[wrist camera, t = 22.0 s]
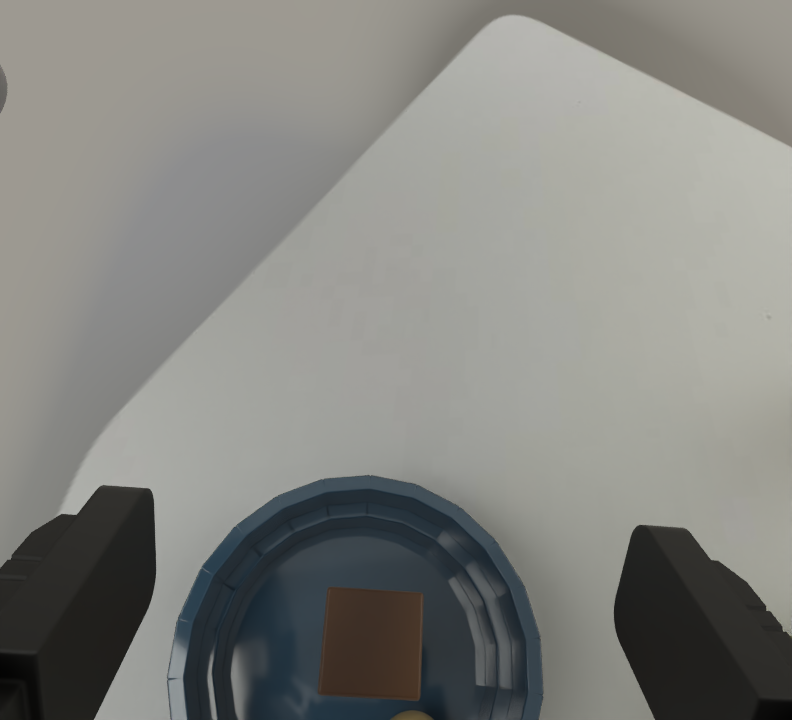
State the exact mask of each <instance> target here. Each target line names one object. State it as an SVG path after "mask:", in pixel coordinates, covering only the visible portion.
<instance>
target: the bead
mask: <svg viewBox="0 0 792 720" xmlns="http://www.w3.org/2000/svg"><path fill="white" fill-rule="evenodd" d="M390 720H434V719H433V718H432V717H430V716H429V715H427V714H426V713H423V712H420V711H415V710H409V711H404V712H401V713H399V714H397V715H395V716H394V717H392V718H391V719H390Z"/></svg>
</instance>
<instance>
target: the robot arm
mask: <svg viewBox="0 0 792 720" xmlns="http://www.w3.org/2000/svg"><path fill="white" fill-rule="evenodd" d="M155 578H156V550H155V520H154V499H153V494H152V491H151V490H150V489H148V488H134V487H120V486H106V485H103V486H100V487H99V488H98V489H97V490H96V491H95V492H94V494H93V495H92V496H91V498H90V499H89V500H88V501H87V503H86V504H85V505H84V506H83V508H82V509H81V510H80V511H79V513H78V514H77V515H68V514H61V515H59V516H58V517H56V518H54V519H53V520H51V521H49V522H48V523H46V524H45V525H43V526H41V527H40V528H38V529H36V530H35V531H33V532H31V534H30V535H29V536H28V537H27V538H26V539H25V541H24V542H23V543H22V544H21V545H20V546H19V547H18V548H17V550H16V551H15V552H14V553H13V554H12V558H11V560H7V561H6V562H5V563H4V565H3V566H2V567H1V568H0V720H94V718H95V716H96V714H97V712H98V710H99V708H100V706H101V704H102V702H103V700H104V698H105V696H106V694H107V692H108V689H109V687H110V685H111V683H112V681H113V679H114V677H115V675H116V673H117V671H118V669H119V667H120V665H121V663H122V661H123V659H124V657H125V655H126V653H127V651H128V649H129V646H130V644H131V642H132V640H133V638H134V636H135V634H136V632H137V630H138V628H139V626H140V624H141V622H142V620H143V618H144V616H145V614H146V612H147V609H148V607H149V605H150V602H151V598H152V595H153V590H154V585H155ZM614 622H615V629H616V633H617V637H618V639H619V642H620V644H621V646H622V648H623V651H624V653H625V655H626V657H627V659H628V661H629V664H630V666H631V668H632V670H633V672H634V675H635V677H636V679H637V681H638V683H639V685H640V688H641V690H642V692H643V694H644V696H645V698H646V701H647V703H648V705H649V707H650V709H651V712H652V714H653V716H654V718H655V720H792V638H791V637H790V636H789V634H788V633H787V632H783V630H782V626H781V624H780V623H779V622H778V621H777V619H776V618H775V617H774V616H773V614H772V613H771V612H770V611H766V606H765V604H764V603H763V602H762V601H761V599H760V598H759V597H758V596H757V594H756V593H755V592H754V591H753V589H752V588H751V587H750V586H749V584H748V583H747V582H746V581H744V580H743V579H742V578H740V577H739V576H738V575H736V574H735V573H734V572H732V571H731V570H730V569H728V568H727V567H726V566H724V565H723V564H722V563H720V562H719V561H714V560H710V558H709V557H708V556H707V554H706V553H705V552H704V550H703V549H702V548H701V546H700V545H699V544H698V542H697V541H696V540H695V538H694V537H693V536H692V534H691V533H690V532H689V531H688V530H687V529H685V528H677V527H663V526H649V525H639V526H637V527H636V528H635V529H634V531H633V533H632V535H631V538H630V542H629V546H628V550H627V554H626V558H625V562H624V566H623V570H622V574H621V578H620V582H619V586H618V590H617V594H616V598H615V605H614Z"/></svg>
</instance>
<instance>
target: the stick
mask: <svg viewBox="0 0 792 720" xmlns="http://www.w3.org/2000/svg"><path fill="white" fill-rule="evenodd" d="M423 605H424V596H423V593H421V592H408V591H393V590H377V589H362V588H347V587H328V589H327V595H326V605H325V616H324V627H323V637H322V648H321V659H320V669H319V680H318V694H319V695H321V696H338V697H356V698H373V699H391V700H408V701H418V700H419V699H420V696H421V665H422V635H423Z"/></svg>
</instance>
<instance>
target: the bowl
mask: <svg viewBox="0 0 792 720" xmlns="http://www.w3.org/2000/svg"><path fill="white" fill-rule="evenodd" d="M495 541H496V540H495V539H494V538H493V537H492V536H491V535H490V534H489V533H488V532H487V531H485V530H484V529H483V528H482V527H481V526H480V525H479V524H478V523H477V522H476V521H475V520H474V519H473V518H471V517H470V516H469V515H468V514H467V513H466V512H465V511H464V510H463V509H462V508H459V506H457V505H456V504H454V503H452V502H450V501H448V500H446V499H444V498H442V497H440V496H438V495H436V494H434V493H432V492H430V491H429V490H427V489H425V488H423V487H421V486H419V485H416V484H412V483H407V482H402V481H398V480H393V479H388V478H383V477H378V476H373V475H371V476H370V475H365V476H352V477H340V478H327V479H321V480H318V481H316V482H313V483H310V484H308V485H305V486H302V487H299V488H297V489H294V490H291V491H289V492H286V493H283V494H281V495H278V496H277V497H275V498H273V499H272V500H271V501H269V502H268V503H266V504H265V505H264V506H262V507H261V508H259V509H258V510H257V511H255V512H254V513H252V514H251V515H250V516H248V517H247V518H246V519H244V520H243V521H241V522H240V523H239V524H237V525H236V527H234V528H233V529H232V530H231V532H230V533H229V534H228V535H227V536H226V538H225V539H224V540H223V541H222V543H221V544H220V545H219V546H218V547H217V549H216V550H215V551H214V552H213V554H212V555H211V556H210V557H209V558H208V560H207V561H206V562H205V563H204V565H203V566H202V569H200V571H199V573H198V575H197V577H196V580H195V582H194V584H193V586H192V588H191V591H190V593H189V595H188V597H187V599H186V602H185V604H184V606H183V608H182V610H181V613H180V615H179V617H178V621H177V623H176V629H175V634H174V640H173V646H172V652H171V658H170V663H169V669H168V675H167V679H168V680H167V686H168V696H169V707H170V717H171V720H390V719H391V718H392V717H394V716H395V715H397V714H399V713H401V712H404V711H409V710H415V711H420V712H423V713H426V714H427V715H429V716H430V717H432V718H433V719H434V720H539V715H540V710H541V706H542V701H543V696H542V695H543V675H542V655H541V639H540V634H539V631H538V627H537V624H536V621H535V618H534V615H533V611H532V608H531V605H530V602H529V599H528V595H527V592H526V589H525V586H524V585H523V583H522V581H521V579H520V578H519V576H518V575H517V573H516V571H515V570H514V568H513V567H512V565H511V563H510V562H509V560H508V559H507V557H506V555H505V554H504V552H503V551H502V549H501V547H500V546H499V544H498V543H497V542H495ZM328 587H347V588H362V589H377V590H393V591H408V592H421V593H423V596H424V605H423V635H422V665H421V696H420V699H419V700H418V701H408V700H391V699H373V698H356V697H338V696H321V695H319V694H318V680H319V669H320V659H321V648H322V637H323V627H324V616H325V605H326V595H327V589H328Z"/></svg>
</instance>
